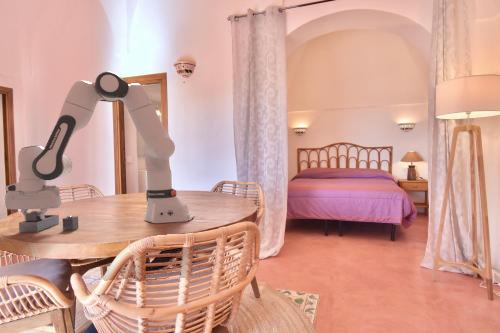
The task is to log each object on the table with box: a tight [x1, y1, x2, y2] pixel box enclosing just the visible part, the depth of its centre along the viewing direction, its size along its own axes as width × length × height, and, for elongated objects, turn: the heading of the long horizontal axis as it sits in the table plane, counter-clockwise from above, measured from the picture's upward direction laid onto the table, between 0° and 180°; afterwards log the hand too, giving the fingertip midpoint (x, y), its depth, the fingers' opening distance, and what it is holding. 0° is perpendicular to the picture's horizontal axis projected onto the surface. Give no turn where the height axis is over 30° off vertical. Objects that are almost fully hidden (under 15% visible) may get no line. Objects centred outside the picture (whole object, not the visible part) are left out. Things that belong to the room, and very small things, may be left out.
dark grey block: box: [61, 215, 79, 232], centre depth 119 cm, size 4×4×6 cm
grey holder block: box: [18, 214, 60, 234], centre depth 122 cm, size 14×7×4 cm, turn 2°
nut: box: [26, 210, 42, 222], centre depth 119 cm, size 4×4×6 cm
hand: (34, 219), depth 119 cm, fingers closed on nut, 4 cm apart
